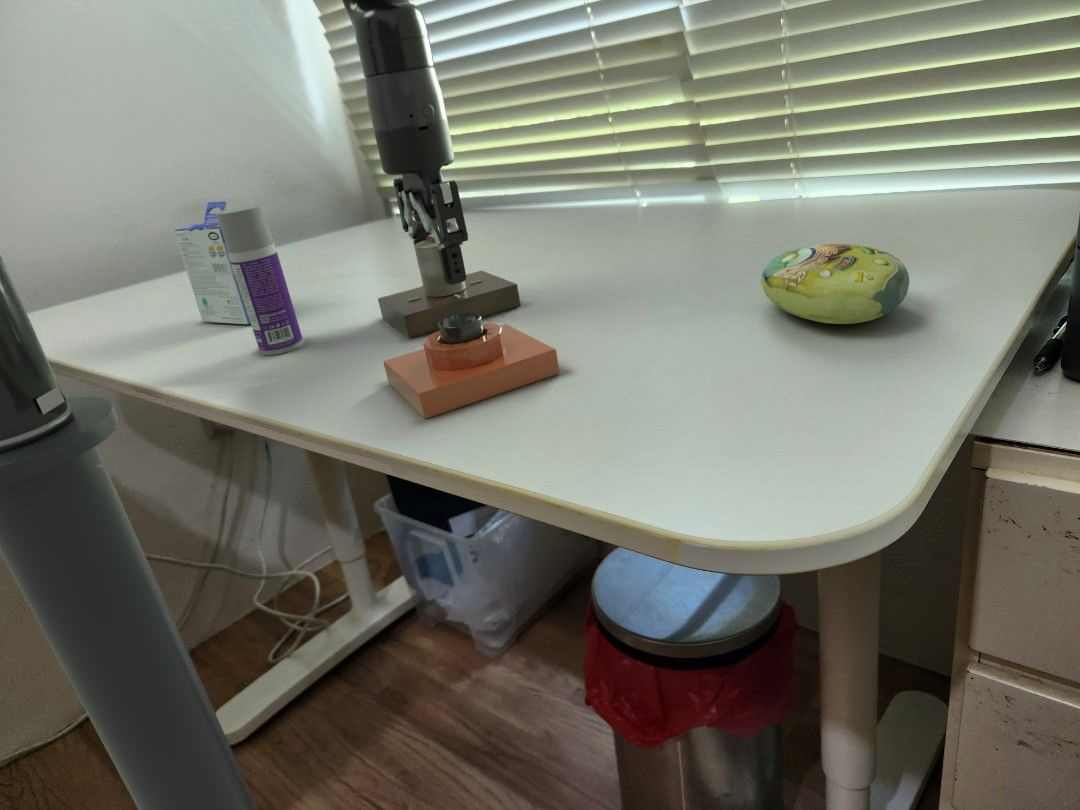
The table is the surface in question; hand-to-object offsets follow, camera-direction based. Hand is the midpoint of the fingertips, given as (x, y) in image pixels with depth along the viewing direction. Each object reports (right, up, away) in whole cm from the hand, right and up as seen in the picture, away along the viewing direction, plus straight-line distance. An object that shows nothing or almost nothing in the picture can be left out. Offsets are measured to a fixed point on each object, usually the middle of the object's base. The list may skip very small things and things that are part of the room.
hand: (442, 276), depth 82 cm
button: (+4, -9, -20) cm, 22 cm away
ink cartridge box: (-28, -3, +15) cm, 32 cm away
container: (-17, -8, -1) cm, 19 cm away
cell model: (+36, -6, -16) cm, 40 cm away
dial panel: (+1, -4, +2) cm, 4 cm away
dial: (0, -1, +1) cm, 2 cm away
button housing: (+5, -12, -18) cm, 22 cm away
